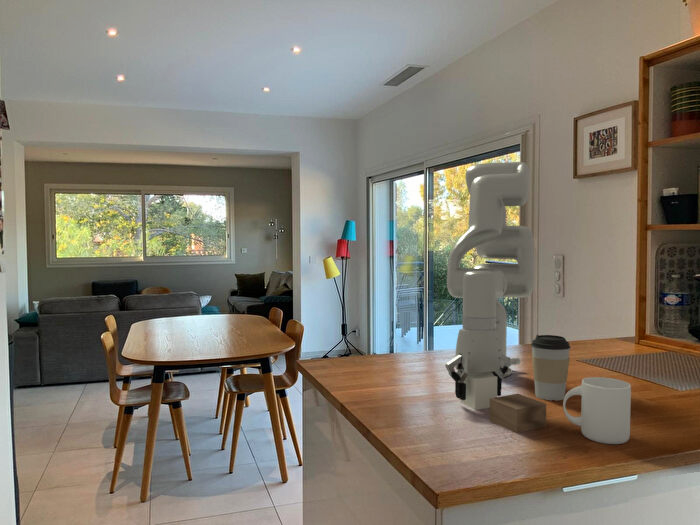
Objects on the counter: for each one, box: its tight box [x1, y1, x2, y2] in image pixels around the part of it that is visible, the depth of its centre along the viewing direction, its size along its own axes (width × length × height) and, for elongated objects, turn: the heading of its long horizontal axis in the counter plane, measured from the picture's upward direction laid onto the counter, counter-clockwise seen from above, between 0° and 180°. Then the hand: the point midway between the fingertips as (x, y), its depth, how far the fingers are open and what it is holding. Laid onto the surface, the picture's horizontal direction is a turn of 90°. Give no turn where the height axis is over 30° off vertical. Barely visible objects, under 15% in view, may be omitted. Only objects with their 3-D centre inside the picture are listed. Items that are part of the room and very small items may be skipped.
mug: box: [562, 376, 632, 445], centre depth 104 cm, size 9×12×11 cm
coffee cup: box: [530, 334, 571, 401], centre depth 130 cm, size 9×9×15 cm
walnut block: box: [488, 393, 547, 434], centre depth 111 cm, size 8×8×5 cm
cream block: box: [459, 373, 498, 410], centre depth 124 cm, size 6×6×7 cm
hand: (478, 396), depth 124 cm, fingers open, 9 cm apart
